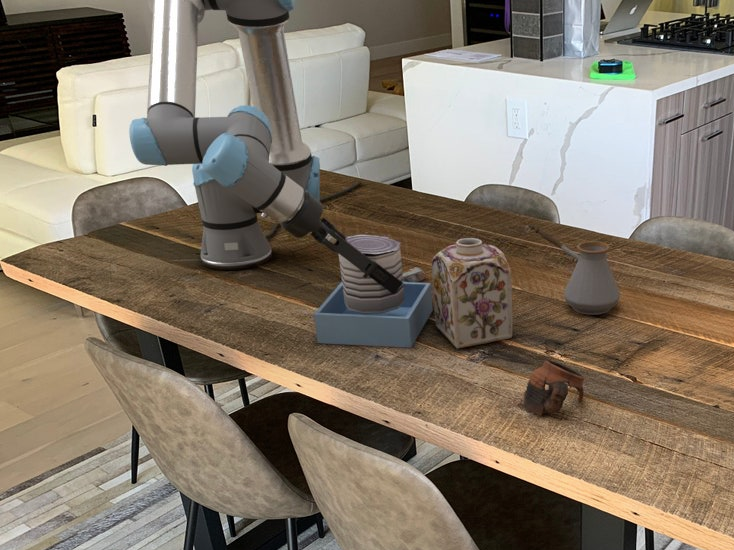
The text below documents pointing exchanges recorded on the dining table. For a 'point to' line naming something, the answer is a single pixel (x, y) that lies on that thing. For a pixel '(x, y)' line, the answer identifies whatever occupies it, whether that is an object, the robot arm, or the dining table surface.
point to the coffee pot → (588, 277)
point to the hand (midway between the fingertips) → (386, 278)
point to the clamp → (413, 275)
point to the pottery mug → (551, 387)
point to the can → (366, 291)
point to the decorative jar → (472, 293)
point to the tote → (374, 320)
